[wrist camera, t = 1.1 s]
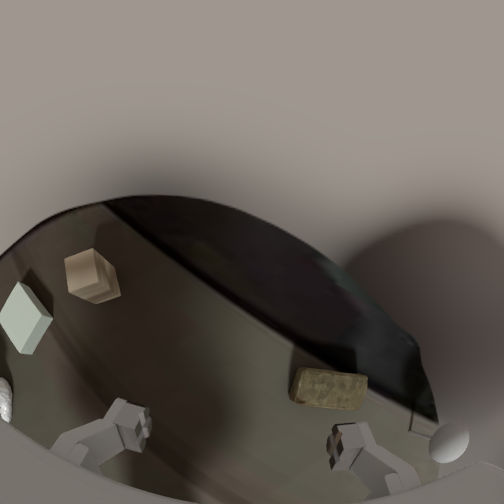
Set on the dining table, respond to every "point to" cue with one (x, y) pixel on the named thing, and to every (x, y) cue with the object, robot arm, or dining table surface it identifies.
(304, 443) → the dining table surface
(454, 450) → the lollipop
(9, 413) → the seated beast figurine
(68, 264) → the birch block
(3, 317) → the sage block
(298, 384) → the stone block
